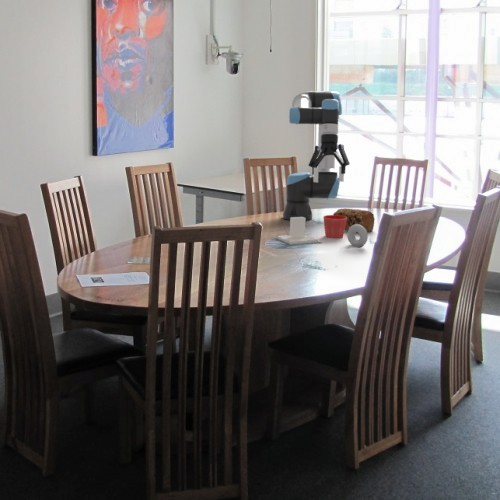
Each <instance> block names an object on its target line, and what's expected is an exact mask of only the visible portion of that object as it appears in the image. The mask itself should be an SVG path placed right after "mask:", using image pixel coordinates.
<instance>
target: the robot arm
mask: <svg viewBox="0 0 500 500" xmlns="http://www.w3.org/2000/svg"><path fill="white" fill-rule="evenodd" d="M291 103H292V104H291V107H289V115H288V119H289V124H293V125H318V138H317V142H318V143H317V145H315V146H314V151H313V154H312V156H311V159H310V161H309V162H308V167H311V168H312V170H311V171H312V172H309V171H307V172H306V171H305V172H304V171H302V172H295V173H291V174H289V175H288V176H287V180H286V202H285V203H286V204H285V206H284V210H283V213H282V219H283V220H286V221H287V220H288V221H290V218H292V217H304V218H306V221H311V220H312V219H313V212H312V209H311V205H310V199H315V200H316V199H318V200H321V199H324V200H326V199H327V200H334V199H336V198H337V196H338V193H339V189H340V183H341V182H345V181H344V179H345V178H344V177H345V174H346V167H347V166H349V165H350V164H351V163H350V161H349V159H348V156H347V153H346V151H345V146H344V144H341V143H339V144H338V142H339V135H338V134H339V118H340V116H341V115H343V114H342V113H343V109H342V108H343V107H342V98H341V94H340V93H339V92H338V91H332V90H326V91H324V90H323V91H322V90H318V91H317V90H316V91H315V90H310V91H309V90H308V91H304V92H301V93H299V94H298V95H296V96H295V97H294V98H293V100H292V102H291ZM337 150H338V151H337ZM339 153H340V154H339ZM336 161H337V162H338V164H339V165H340V166H339V167H338V169H339V170H338V171H339V172H338V171H337V170H336V169H335V166H336V165H335V164H336ZM311 173H312V175H311Z"/></svg>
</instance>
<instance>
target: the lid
mask: <svg viewBox="0 0 500 500" xmlns="http://www.w3.org/2000/svg"><path fill="white" fill-rule="evenodd" d="M306 221H307V220H306V218H304V217H292V218H290V220H289V235H287V234H286V235H278V236H277V238H278V239H279V240H282V241H284V242H286V243H289V244H303V243H315V242H317V241H318V239H317V238H315V237H312V236H309V235H307V234H306Z"/></svg>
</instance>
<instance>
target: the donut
mask: <svg viewBox="0 0 500 500" xmlns="http://www.w3.org/2000/svg"><path fill="white" fill-rule="evenodd" d="M356 233H358V235H359V239H357V238H356ZM346 235H347V238H346V239H347V241H348V242H349V244H350V245H351V246H352V247H357V248H361V247H364V246H365V245H366V244H367V242H368V237H369V236H368V235H369V234H368V232H367V231H366V229H365V228H364V227H363V226H361V225H359V224H355V225H352V226H351V227H350V228H349V230H348V231H347V233H346Z"/></svg>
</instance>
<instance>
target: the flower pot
mask: <svg viewBox="0 0 500 500" xmlns="http://www.w3.org/2000/svg"><path fill="white" fill-rule="evenodd" d="M346 222H347V217H345V216H340V215H333V214H329V215H328V214H327V215H323V225H324V226H323V227H324V234H325V235H324V236H325V238H328V239H344V236H345V231H346V230H345V226H346Z"/></svg>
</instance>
